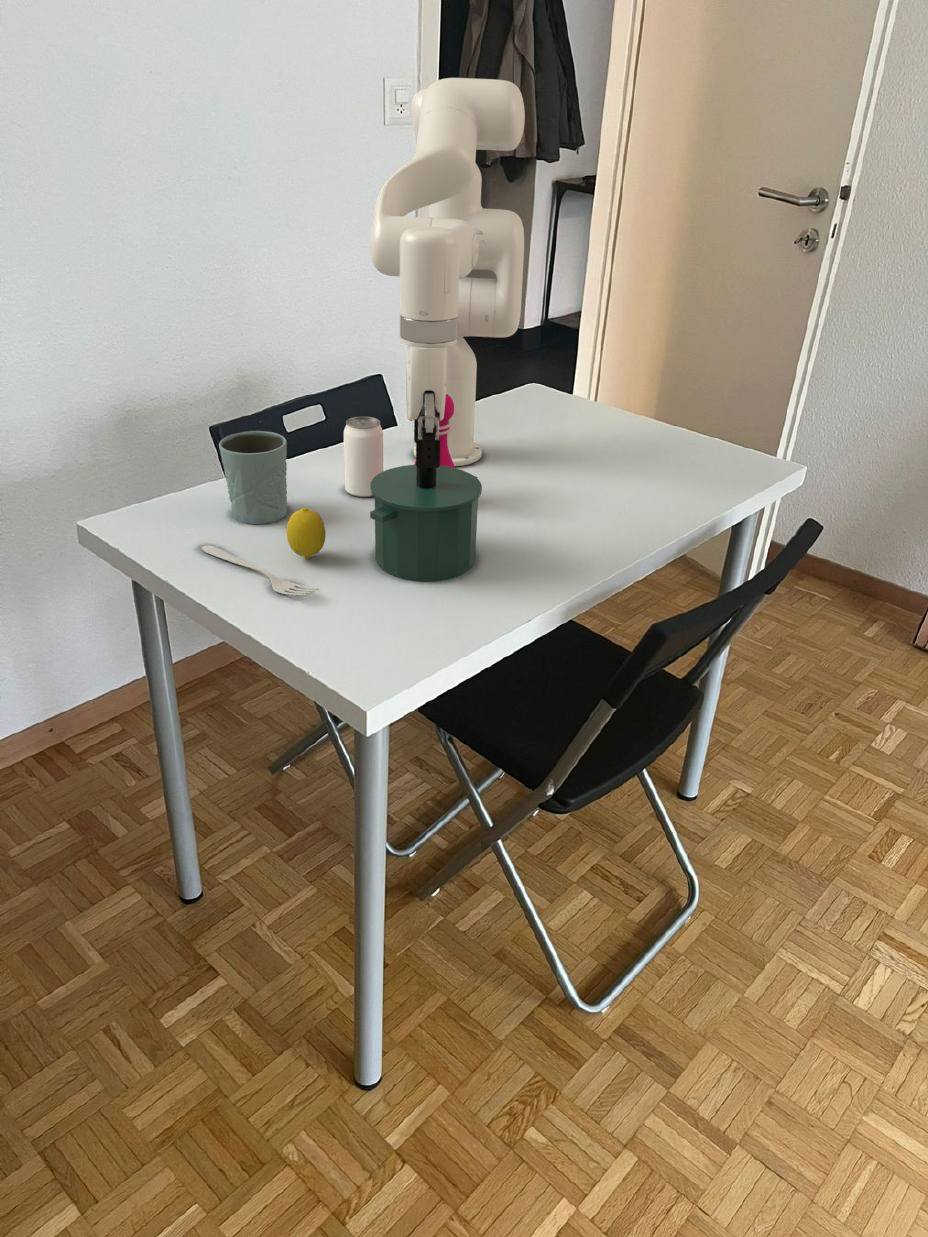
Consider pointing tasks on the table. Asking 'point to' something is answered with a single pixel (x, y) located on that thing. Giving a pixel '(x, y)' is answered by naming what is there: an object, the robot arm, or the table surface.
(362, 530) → the table surface
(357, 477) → the can
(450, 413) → the pepper mill
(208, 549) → the fork
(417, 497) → the lid
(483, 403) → the table surface
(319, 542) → the lemon
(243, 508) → the grey-green cup
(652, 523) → the table surface
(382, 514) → the pot
